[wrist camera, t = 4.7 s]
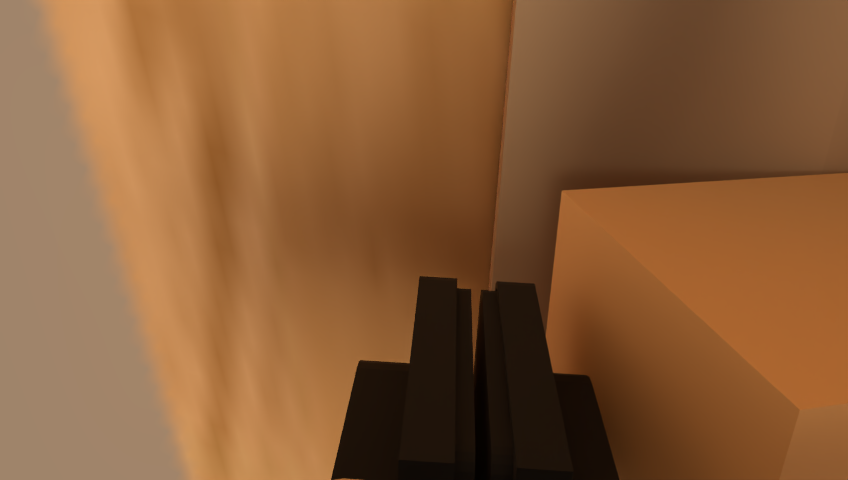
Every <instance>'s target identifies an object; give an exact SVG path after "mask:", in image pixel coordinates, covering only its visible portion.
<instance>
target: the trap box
mask: <svg viewBox="0 0 848 480" xmlns="http://www.w3.org/2000/svg"><path fill="white" fill-rule="evenodd" d="M836 173H848V0H513V8H512V20H511V32H510V44H509V56H508V67H507V79H506V91H505V103H504V114H503V126H502V138H501V150H500V162H499V173H498V185H497V197H496V209H495V220H494V232H493V244H492V256H491V268H490V279H489V291H495V285H496V281H502V282H518V283H534V284H535V287H536V292H537V297H538V302H539V307H540V312H541V316H542V321H543V326H544V331H545V336H546V329H547V320H548V311H549V302H550V293H551V284H552V275H553V265H554V256H555V247H556V238H557V229H558V220H559V211H560V202H561V193H562V191H563V190H579V189H595V188H611V187H627V186H643V185H659V184H675V183H691V182H708V181H724V180H740V179H756V178H772V177H788V176H804V175H820V174H836Z"/></svg>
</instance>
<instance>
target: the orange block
mask: <svg viewBox="0 0 848 480" xmlns="http://www.w3.org/2000/svg"><path fill="white" fill-rule="evenodd" d="M546 341H547V345H548V350H549V355H550V360H551V365H552V370H553V373H562V374H578V375H587V376H589V377H590V380H591V382H592V385H593V388H594V392H595V395H596V399H597V402H598V406H599V409H600V413H601V416H602V420H603V423H604V427H605V430H606V434H607V437H608V441H609V444H610V448H611V451H612V455H613V458H614V462H615V465H616V469H617V472H618V476H619V479H620V480H848V173H836V174H820V175H804V176H788V177H772V178H756V179H740V180H724V181H708V182H691V183H675V184H659V185H643V186H627V187H611V188H595V189H579V190H563V191H562V193H561V202H560V211H559V220H558V229H557V238H556V247H555V256H554V265H553V275H552V284H551V293H550V302H549V311H548V320H547V329H546Z"/></svg>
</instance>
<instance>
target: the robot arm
mask: <svg viewBox="0 0 848 480" xmlns="http://www.w3.org/2000/svg"><path fill="white" fill-rule="evenodd" d="M331 480H620V479H619V476H618V472H617V469H616V465H615V462H614V458H613V455H612V451H611V448H610V444H609V441H608V437H607V434H606V430H605V427H604V423H603V420H602V416H601V413H600V409H599V406H598V402H597V399H596V395H595V392H594V388H593V385H592V382H591V380H590V377H589V376H587V375H578V374H562V373H553V370H552V365H551V360H550V355H549V350H548V345H547V341H546V336H545V331H544V326H543V321H542V316H541V312H540V307H539V302H538V297H537V292H536V287H535V284H534V283H518V282H502V281H496V285H495V291H488V290H481V296H480V306H479V317H478V329H477V340H476V352H475V363H474V374H473V343H472V308H471V289H458V288H457V279H455V278H439V277H423V276H420V279H419V287H418V296H417V305H416V313H415V322H414V331H413V339H412V348H411V357H410V363H395V362H379V361H364V360H360V361H359V363H358V366H357V370H356V375H355V379H354V383H353V388H352V392H351V396H350V401H349V405H348V409H347V413H346V418H345V422H344V426H343V431H342V435H341V439H340V444H339V448H338V452H337V457H336V461H335V465H334V469H333V474H332V478H331Z"/></svg>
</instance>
